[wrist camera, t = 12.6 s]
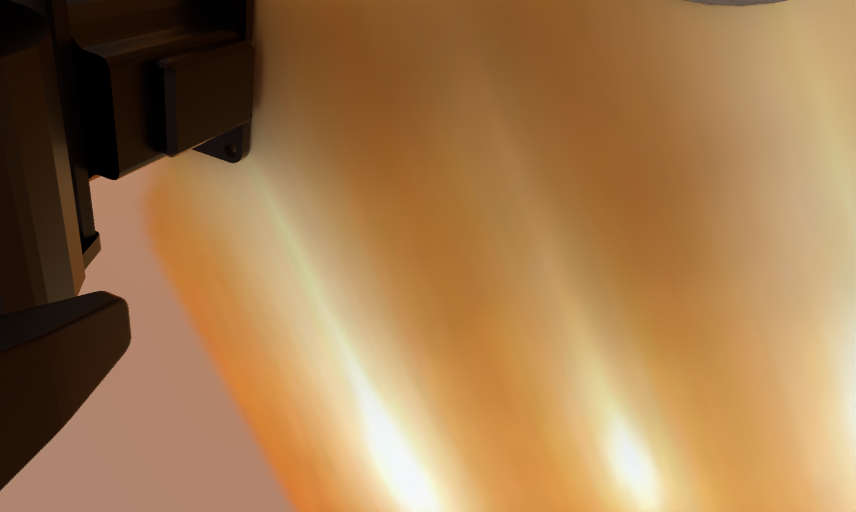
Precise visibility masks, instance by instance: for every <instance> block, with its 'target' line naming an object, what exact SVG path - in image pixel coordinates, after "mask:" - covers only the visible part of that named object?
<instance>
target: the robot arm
mask: <svg viewBox="0 0 856 512" xmlns="http://www.w3.org/2000/svg"><path fill="white" fill-rule="evenodd" d="M253 6H254V0H0V491H1V490H2V489H3V488H4V487H5V486H6V485H7V484H8V483H9V481H10V480H11V479H12V478H14V477H15V475H16V474H17V473H18V472H20V470H22V469H23V468H24V466H26V464H27V463H28V462H29V461H30V460H31V459H32V458H33V457H34V456H35V455H36V454H37V453H38V452H39V451H40V450H41V449H42V448H43V447H44V446H45V445H46V444H47V443H48V442H49V441H50V440H51V439H52V438H53V437H54V436H55V435H56V434H57V433H58V432H59V431H60V430H61V429H62V428H63V427H64V425H65V424H66V423H67V422H68V421H69V420H70V419H71V418H72V416H73V415H74V414H75V413H76V412H77V410H78V409H79V408H80V407H81V406H82V404H83V403H84V402H85V401H86V400H87V398H88V397H89V396H90V395H91V393H92V392H93V391H94V390H95V389H96V387H97V386H98V385H99V384H100V383H101V381H102V380H103V379H104V378H105V377H106V375H107V374H108V373H109V372H110V370H111V369H112V368H113V367H114V365H115V364H116V363H117V362H118V361H119V360H120V358H121V357H122V356H123V355H124V353H125V352H126V351H127V349H128V347H129V345H130V341H131V328H130V319H129V307H128V304H127V302H126V301H125V299H123V298H121V297H119V296H116V295H114V294H111V293H109V292H106V291H97V292H93V293H89V294H85V295H81V296H78V294H79V291H80V289H81V286H82V284H83V282H84V279H85V269H86V268H87V266H88V265H89V264H90V263H91V261H92V260H93V259H94V258H95V256H96V255H97V254H98V253H99V252H100V250H101V244H100V236H99V233H98V232H97V231H95V227H94V218H93V210H92V202H91V194H90V186H89V181H91V180H94V179H95V178H98V177H100V176H103V177H105V178H108V179H111V180H117V179H119V178H121V177H123V176H125V175H127V174H130V173H132V172H134V171H136V170H138V169H140V168H142V167H144V166H146V165H149V164H151V163H153V162H155V161H157V160H159V159H161V158H163V157H166V156H168V157H176V156H178V155H180V154H182V153H184V152H186V151H188V150H190V149H192V150H195V151H198V152H201V153H204V154H207V155H210V156H213V157H216V158H219V159H221V160H224V161H227V162H230V163H236V162H239V161H240V160H242V159H244V158H245V157H246V156H247V155H248V150H249V121H250V119H251V118H252V108H253V81H254V54H255V50H254V47H253V44H252V35H253ZM230 144H232V145H234V147H235V148H236V152H234V151H233V150H232V148H231V145H230Z"/></svg>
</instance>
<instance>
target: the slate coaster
mask: <svg viewBox="0 0 856 512" xmlns="http://www.w3.org/2000/svg"><path fill="white" fill-rule="evenodd" d="M687 1H692V2H698V3H703V4H711V5H735V6H744V5H755V4H767V3H776V2H781V1H786V0H687Z"/></svg>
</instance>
